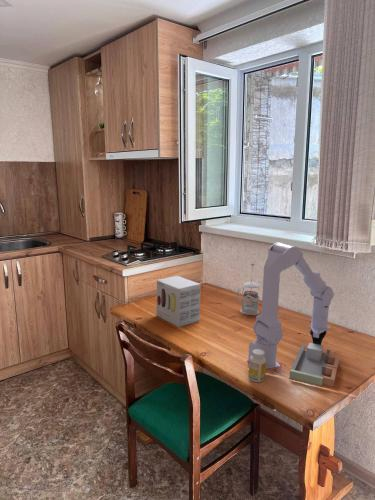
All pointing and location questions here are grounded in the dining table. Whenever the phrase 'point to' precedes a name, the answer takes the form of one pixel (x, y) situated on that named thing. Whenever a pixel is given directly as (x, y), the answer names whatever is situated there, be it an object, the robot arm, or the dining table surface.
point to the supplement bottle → (257, 365)
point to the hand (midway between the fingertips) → (316, 348)
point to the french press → (253, 306)
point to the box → (314, 369)
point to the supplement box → (178, 300)
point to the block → (314, 351)
